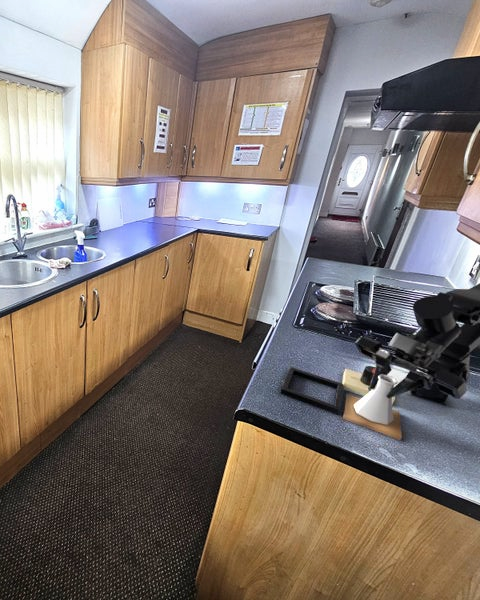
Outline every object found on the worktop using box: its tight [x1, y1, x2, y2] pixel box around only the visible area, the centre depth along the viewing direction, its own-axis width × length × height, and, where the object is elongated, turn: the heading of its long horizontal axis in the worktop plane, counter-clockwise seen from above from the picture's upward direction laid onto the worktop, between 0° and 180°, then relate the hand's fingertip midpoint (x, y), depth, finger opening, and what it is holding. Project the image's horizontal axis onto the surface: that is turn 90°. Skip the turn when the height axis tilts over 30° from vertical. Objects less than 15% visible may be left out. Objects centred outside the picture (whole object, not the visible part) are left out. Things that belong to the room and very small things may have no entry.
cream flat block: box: [341, 368, 396, 405], centre depth 85 cm, size 10×8×2 cm
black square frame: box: [280, 366, 344, 415], centre depth 85 cm, size 12×12×2 cm
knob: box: [360, 365, 376, 386], centre depth 84 cm, size 4×4×4 cm
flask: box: [353, 374, 398, 425], centre depth 74 cm, size 7×7×10 cm
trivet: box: [342, 393, 403, 441], centre depth 76 cm, size 10×10×1 cm
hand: (378, 392), depth 73 cm, fingers closed on flask, 3 cm apart
